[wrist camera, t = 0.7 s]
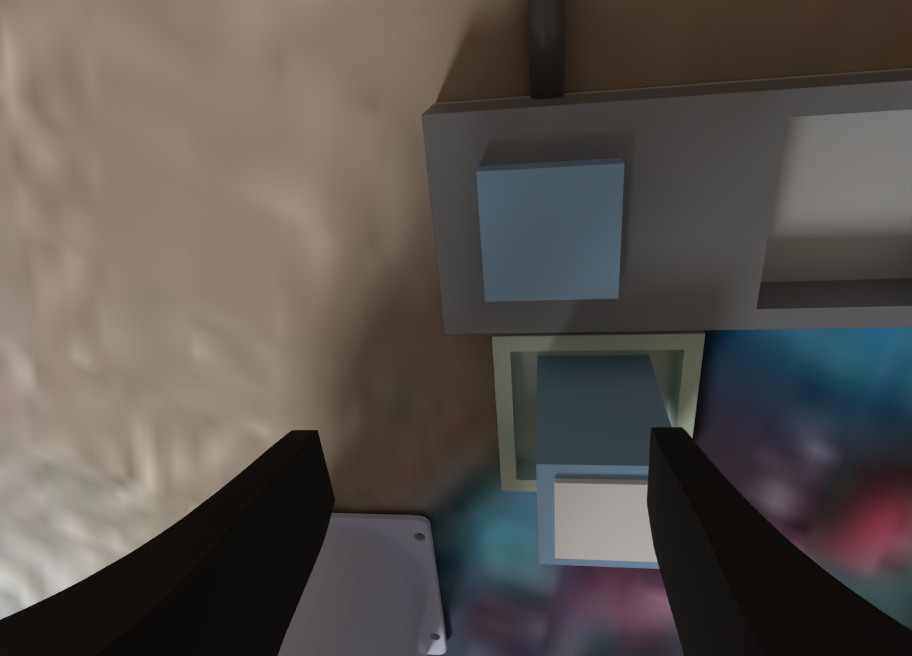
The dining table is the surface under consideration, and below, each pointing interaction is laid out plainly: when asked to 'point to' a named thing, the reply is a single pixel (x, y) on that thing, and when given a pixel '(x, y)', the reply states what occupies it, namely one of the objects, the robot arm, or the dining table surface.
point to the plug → (595, 459)
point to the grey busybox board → (673, 202)
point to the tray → (517, 355)
